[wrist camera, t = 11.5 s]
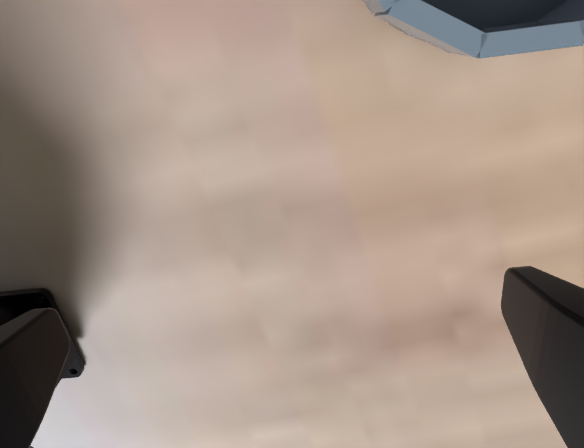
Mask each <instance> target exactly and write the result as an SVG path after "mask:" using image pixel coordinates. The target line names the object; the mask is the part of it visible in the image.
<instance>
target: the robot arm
mask: <svg viewBox="0 0 584 448" xmlns="http://www.w3.org/2000/svg"><path fill="white" fill-rule="evenodd" d="M40 296H41V297H43V298H44V299H42V298H41V297H40ZM501 310H502V314H503V317H504V319H505V322H506V324H507V326H508V329H509V331H510V333H511V336H512V338H513V340H514V343H515V345H516V347H517V350H518V352H519V354H520V357H521V359H522V361H523V364H524V366H525V369H526V371H527V373H528V376H529V378H530V380H531V382H532V384H533V386H534V388H535V390H536V392H537V394H538V396H539V398H540V400H541V401H542V403H543V405H544V407H545V408H546V410H547V412H548V414H549V415H550V417H551V419H552V421H553V423H554V424H555V426H556V428H557V430H558V431H559V433H560V435H561V437H562V438H563V440H564V442H565V444H566V446H567V447H568V448H584V288H581V287H579V286H576V285H574V284H572V283H569V282H567V281H565V280H562V279H560V278H558V277H555V276H553V275H550V274H548V273H546V272H543V271H541V270H539V269H536V268H534V267H531V266H523V267H512V268H509V269H507V270H506V272H505V275H504V283H503V291H502V299H501ZM83 371H84V365H83V363H82V361H81V358H80V356H79V354H78V352H77V349H76V347H75V345H74V343H73V340H72V338H71V336H70V334H69V332H68V329H67V327H66V325H65V323H64V320H63V318H62V316H61V314H60V312H59V309H58V307H57V305H56V303H55V300H54V298H53V296H52V294H51V293H50V292H49V291H48V290H46V289H31V290H21V291H11V292H0V448H33V447H32V446H30V445H31V443H32V441H33V439H34V437H35V435H36V433H37V431H38V429H39V427H40V424H41V422H42V420H43V418H44V415H45V413H46V410H47V408H48V405H49V403H50V400H51V397H52V395H53V392H54V390H55V388H56V386H57V385H58V383H59V382H60V380H61V379H62V378H74V377H79V376H80V375H81V374H82V372H83Z"/></svg>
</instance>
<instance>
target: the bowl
mask: <svg viewBox="0 0 584 448" xmlns="http://www.w3.org/2000/svg"><path fill="white" fill-rule="evenodd" d="M363 1H364V2H365V4H366V5H367V7H368V9H369V10H370V12H371V14H372V13H375V15H374V16H375V17H377V18H379V19H381V20H383V21H385V22H387V23H388V24H390V25H392V26H393V27H395V28H397V29H399V30H400V31H402V32H404V33H405V34H408V35H410V36H412V37H415V38H417V39H420V40H422V41H425V42H428V43H430V44H432V45H434V46H436V47H438V48H440V49H442V50H444V51H446V52H448V53H453V54H458V55H464V56H469V57H474V58H487V57H495V56H503V55H511V54H519V53H527V52H535V51H543V50H551V49H559V48H567V47H575V46H583V44H584V0H363Z"/></svg>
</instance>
